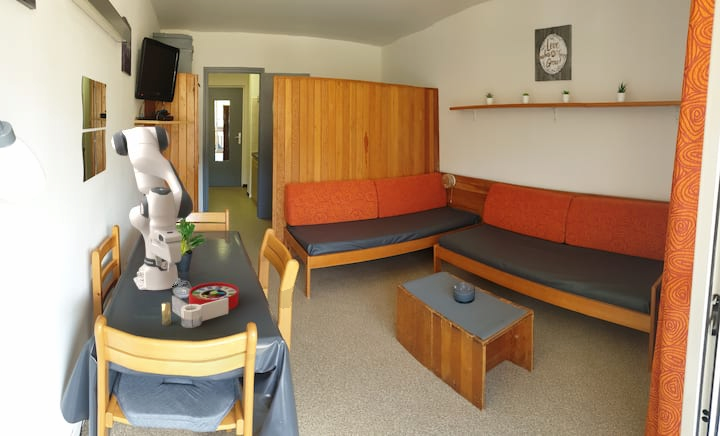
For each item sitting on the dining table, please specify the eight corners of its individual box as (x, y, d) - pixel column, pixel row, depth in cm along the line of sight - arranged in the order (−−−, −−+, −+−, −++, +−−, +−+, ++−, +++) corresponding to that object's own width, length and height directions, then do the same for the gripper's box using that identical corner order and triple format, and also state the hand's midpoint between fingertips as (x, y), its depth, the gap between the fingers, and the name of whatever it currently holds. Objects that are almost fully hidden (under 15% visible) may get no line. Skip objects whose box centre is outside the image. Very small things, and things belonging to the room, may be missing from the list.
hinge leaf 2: (178, 323, 173) (178, 307, 171) (223, 310, 186) (223, 295, 185) (187, 329, 168) (186, 313, 167) (232, 315, 182) (232, 300, 180)
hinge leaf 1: (165, 313, 181) (164, 297, 179) (182, 308, 186) (181, 293, 184) (187, 329, 168) (186, 313, 167) (204, 324, 173) (204, 308, 172)
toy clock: (181, 298, 181) (197, 281, 201) (182, 312, 183) (197, 294, 202) (232, 301, 182) (243, 283, 202) (232, 314, 183) (243, 295, 203)
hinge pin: (160, 323, 172) (160, 303, 170) (168, 321, 174) (168, 301, 172) (164, 326, 170) (163, 306, 168) (172, 323, 172) (171, 304, 170)
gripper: (142, 228, 169) (144, 263, 172) (166, 239, 156) (168, 277, 158) (159, 226, 174) (161, 260, 177) (184, 236, 160) (185, 274, 163)
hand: (164, 268), depth 167 cm, fingers open, 8 cm apart
